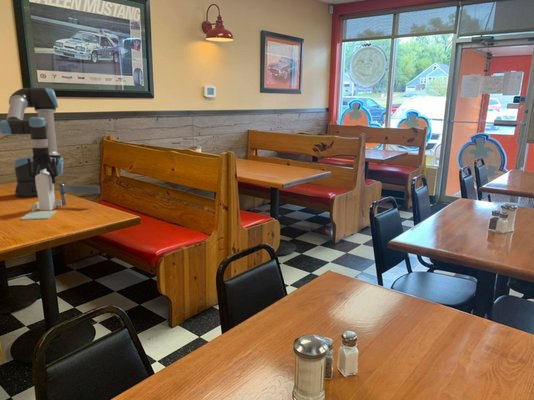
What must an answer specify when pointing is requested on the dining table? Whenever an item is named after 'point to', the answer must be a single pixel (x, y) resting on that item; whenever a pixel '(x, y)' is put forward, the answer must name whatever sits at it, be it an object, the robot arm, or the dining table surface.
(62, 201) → the bracket
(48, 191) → the milk
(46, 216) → the mat
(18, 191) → the robot arm
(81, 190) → the dark grey metallic bar
